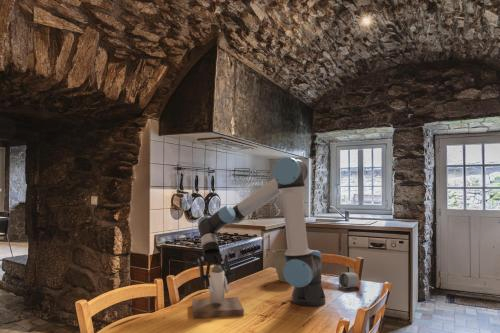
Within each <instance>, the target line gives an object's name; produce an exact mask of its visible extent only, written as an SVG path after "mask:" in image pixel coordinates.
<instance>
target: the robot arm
mask: <svg viewBox="0 0 500 333" xmlns="http://www.w3.org/2000/svg"><path fill="white" fill-rule="evenodd" d="M308 173H309V170H308V166H307V164H306V163H305V162H304V161H303V160H301V159H299V158H294V157H293V156H285V157H282V158H279V159H278V160H276V162H275V164H274V165H273V168H272V174H273V179H271V180H270V181H268V182H267V183H266V184H264V185H263V186H261V187H260V188H258V189H257V190H256V191H254V192H253V193H252V194H250V195H249V196H247V197H246V198H244V199H243V200H242V201H239V203H237V204H236V205H234V206H233V207H232V206H230V205H224V206H223V207H220V208H219V210H217V211H216V212H215V213H213V214H212V215H204V216H201V217H200V218H198V221H197V229H198V233H199V236H200V242H201V243H200V244H201V250H202V254H203V255H202V256H198V257H197V263H198V268H199V278H200V280H204V282H205V285H206V288H208V291H209V296H210V295H212V294H213V288H212V282H211V278H210V271H211V270H210V269H211V265H212V266H213V265H214V266H215V265H220V266H221V267H222V269H223V271H224V293H225V294H228V293H229V291H230V288H229V284H230V278H231V277H232V270H231V267H230V263H229V260H228V257H229V256H228V254H225V255H223V254H222V253H221V250H220V245H219V241H218V237H217V232H218V231H220V230H221V229H222V228H224V227H226V226H229V225H234V224H239V223H241V222H243V221H244V219H245V218H246V217H247V216H249V215H251V214H252V213H253V212H255V211H257V210H258V209H259V208H261V207H263V206H264V205H265V204H267V203H269V202H270V201H272V200H273V199H275V198H277V196H278V195H280V194H281V197H282V198H281V199H282V206H283V207H282V208H283V217H284V226H285V227H284V228H285V235H286V236H285V237H286V246H287V249H288V250H287V251H286V253H285V262H286V264H285V266H284V269H283V274H284V278H285V279H286V281H287V282H286V283H288V284H289V285H290V286H292V287H293V290H292V293H291V301H292V302H293V304H296V305H298V306H302V307H303V306H304V307H319V306H323V305H325V304H326V294H325V292H324V288H323V285H322V252H321V251H319V250H315V249H310V248H309V244H308V236H307V234H308V233H307V227H306V225H307V224H306V217H305V208H304V201H303V190H304V189H305V188H306V187H305V186H306V185H305V180H306V179H307V178H308V175H309V174H308ZM221 259H222V261H223V263H222V261H221ZM204 261H205V262H206V263H207V264H206V269H204ZM223 264H224V265H223ZM204 270H205V271H204Z"/></svg>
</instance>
